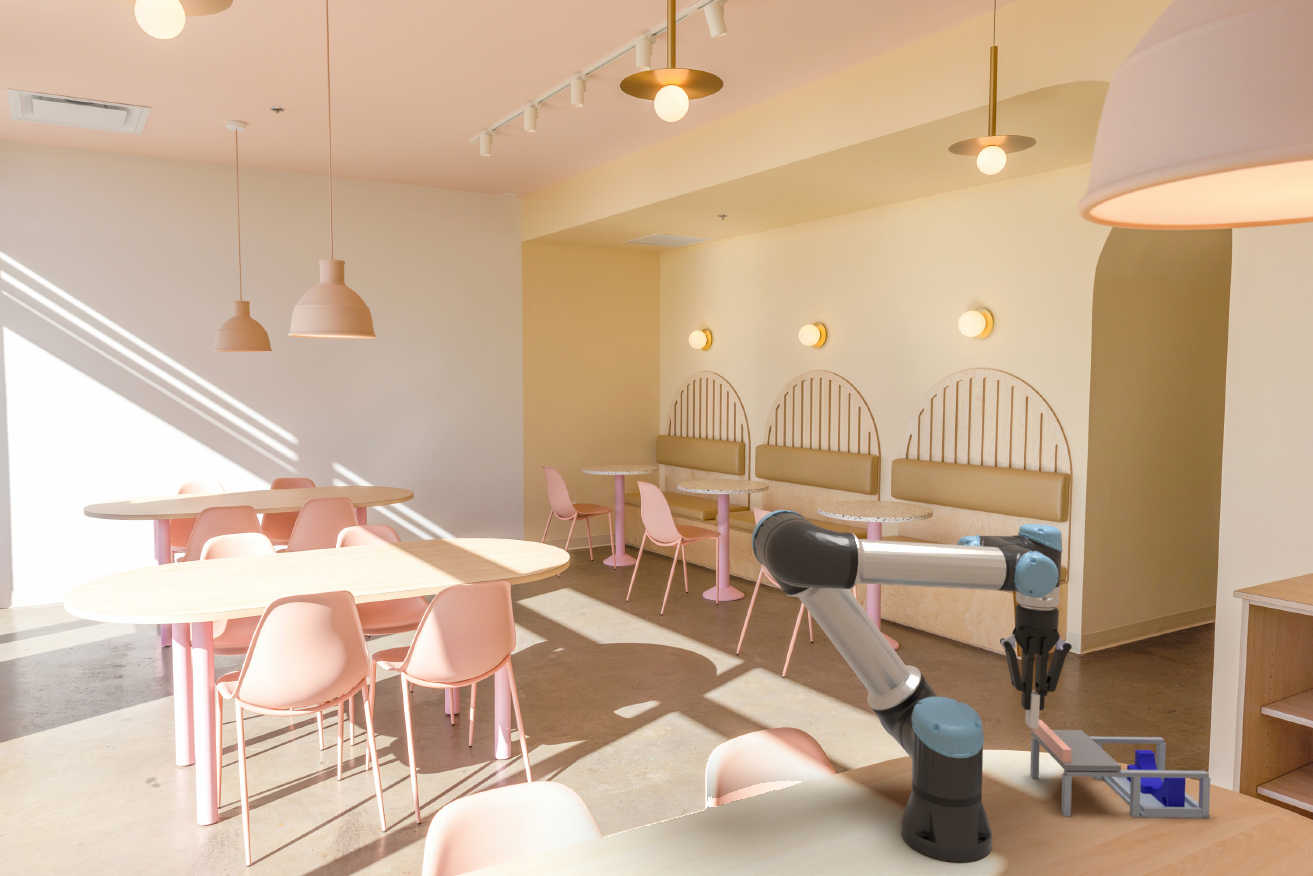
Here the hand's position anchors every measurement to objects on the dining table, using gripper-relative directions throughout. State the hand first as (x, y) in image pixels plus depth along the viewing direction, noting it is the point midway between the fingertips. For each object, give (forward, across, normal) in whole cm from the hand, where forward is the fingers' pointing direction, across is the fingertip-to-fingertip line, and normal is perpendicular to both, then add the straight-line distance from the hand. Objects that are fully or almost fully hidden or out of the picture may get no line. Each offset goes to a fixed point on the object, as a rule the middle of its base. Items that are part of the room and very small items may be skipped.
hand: (1031, 725), depth 164 cm
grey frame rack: (+13, +17, 0) cm, 21 cm away
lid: (+5, +8, 0) cm, 10 cm away
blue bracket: (+13, +24, 0) cm, 27 cm away
